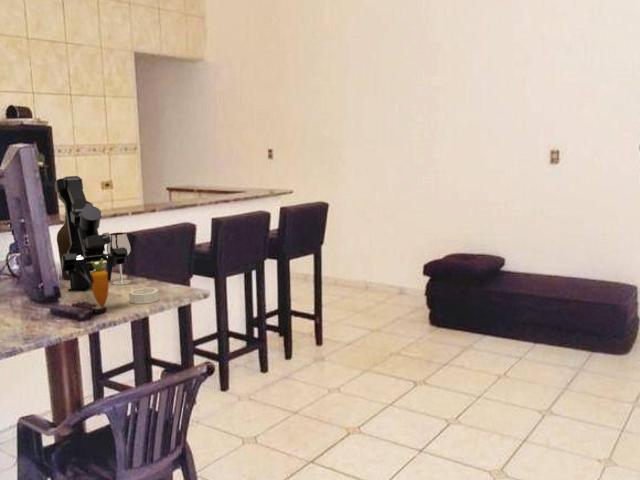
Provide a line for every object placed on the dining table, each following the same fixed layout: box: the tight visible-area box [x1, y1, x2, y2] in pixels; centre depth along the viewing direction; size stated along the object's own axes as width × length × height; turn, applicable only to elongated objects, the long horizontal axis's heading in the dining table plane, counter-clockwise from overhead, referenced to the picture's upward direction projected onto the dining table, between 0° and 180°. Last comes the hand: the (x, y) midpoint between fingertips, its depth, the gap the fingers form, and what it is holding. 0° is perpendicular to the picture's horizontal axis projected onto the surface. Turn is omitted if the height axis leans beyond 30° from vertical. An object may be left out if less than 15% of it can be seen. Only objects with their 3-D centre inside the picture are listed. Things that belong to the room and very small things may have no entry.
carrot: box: [90, 258, 109, 308], centre depth 186 cm, size 5×5×15 cm
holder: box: [128, 287, 160, 305], centre depth 199 cm, size 9×9×3 cm
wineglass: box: [106, 231, 132, 286], centre depth 223 cm, size 8×8×18 cm
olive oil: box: [56, 211, 71, 281], centre depth 232 cm, size 11×11×25 cm
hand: (100, 282), depth 184 cm, fingers closed on carrot, 5 cm apart
